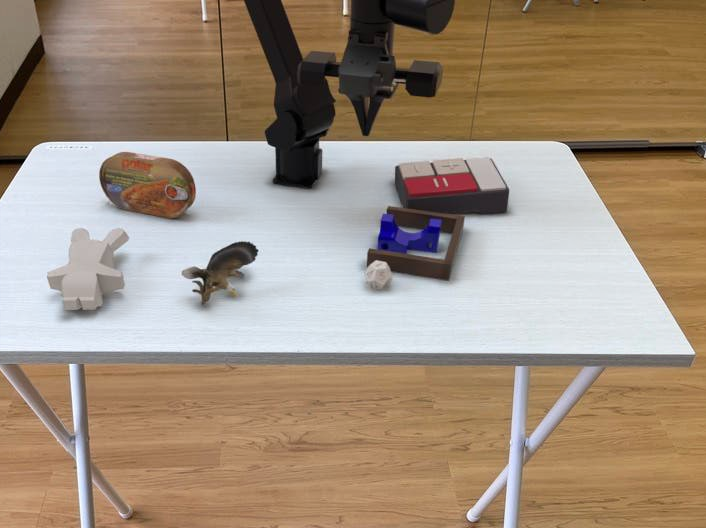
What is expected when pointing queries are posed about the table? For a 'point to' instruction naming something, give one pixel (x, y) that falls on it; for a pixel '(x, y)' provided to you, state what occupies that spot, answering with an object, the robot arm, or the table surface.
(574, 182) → the table surface
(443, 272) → the square wooden border
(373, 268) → the game die
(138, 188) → the tin
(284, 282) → the table surface
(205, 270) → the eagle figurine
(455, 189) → the calculator
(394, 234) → the cable holder
